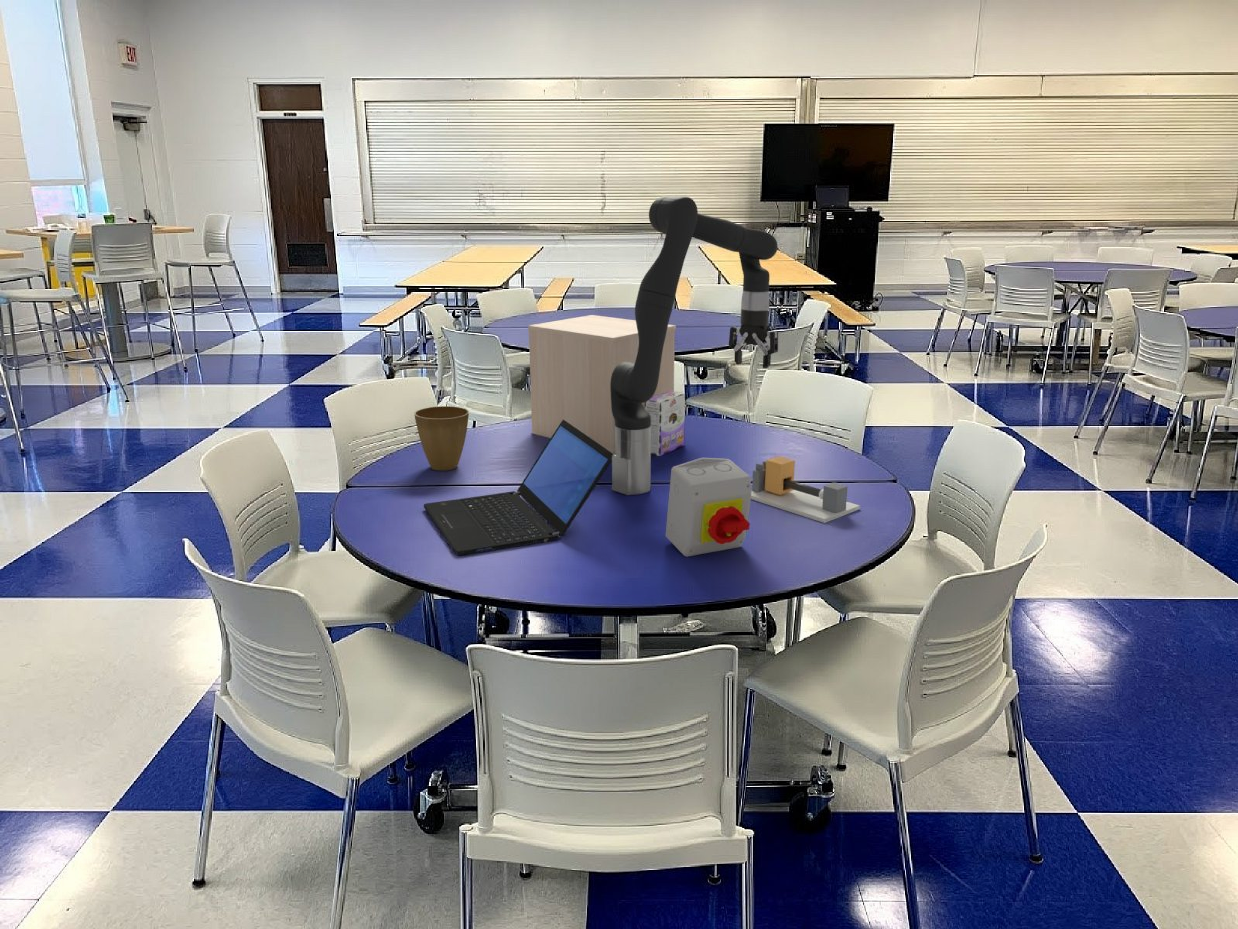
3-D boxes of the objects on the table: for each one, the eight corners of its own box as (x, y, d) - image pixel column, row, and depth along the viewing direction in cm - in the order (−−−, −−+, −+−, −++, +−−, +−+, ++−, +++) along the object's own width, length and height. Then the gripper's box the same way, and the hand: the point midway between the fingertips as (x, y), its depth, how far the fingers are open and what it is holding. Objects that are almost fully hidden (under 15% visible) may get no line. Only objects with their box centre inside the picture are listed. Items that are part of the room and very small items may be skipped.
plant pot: (448, 478, 256) (445, 421, 251) (406, 470, 263) (402, 414, 258) (482, 463, 268) (479, 409, 263) (441, 456, 275) (438, 403, 270)
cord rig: (744, 496, 240) (745, 466, 238) (779, 485, 249) (780, 455, 246) (824, 523, 222) (826, 490, 220) (859, 509, 231) (861, 477, 229)
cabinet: (674, 433, 298) (676, 325, 288) (614, 453, 277) (613, 337, 267) (593, 416, 320) (592, 314, 310) (531, 433, 299) (528, 325, 289)
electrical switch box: (695, 576, 199) (704, 491, 190) (664, 542, 211) (671, 461, 202) (755, 564, 204) (766, 482, 196) (722, 532, 217) (731, 453, 208)
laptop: (423, 510, 232) (417, 434, 227) (566, 490, 247) (564, 418, 241) (455, 559, 203) (450, 473, 197) (615, 533, 217) (615, 452, 212)
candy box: (668, 442, 288) (669, 390, 283) (685, 445, 285) (686, 392, 280) (643, 453, 278) (643, 398, 273) (660, 456, 274) (660, 401, 269)
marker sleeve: (764, 490, 240) (766, 460, 238) (777, 485, 243) (779, 456, 241) (780, 494, 237) (781, 464, 234) (793, 490, 240) (794, 460, 238)
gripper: (725, 306, 259) (723, 365, 263) (771, 311, 250) (768, 371, 255) (739, 304, 264) (736, 361, 269) (784, 308, 256) (781, 367, 261)
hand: (752, 366), depth 262 cm, fingers open, 8 cm apart
